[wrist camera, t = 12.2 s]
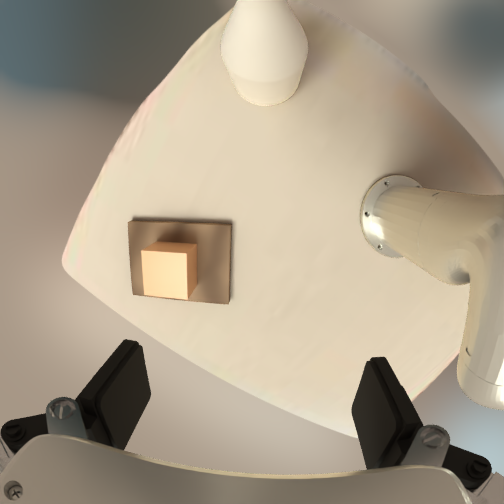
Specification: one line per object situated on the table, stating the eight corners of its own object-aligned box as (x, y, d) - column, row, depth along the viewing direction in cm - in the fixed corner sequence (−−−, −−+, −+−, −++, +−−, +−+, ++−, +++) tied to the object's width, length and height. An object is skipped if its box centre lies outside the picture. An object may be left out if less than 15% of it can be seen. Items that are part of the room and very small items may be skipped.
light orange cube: (196, 243, 41) (186, 253, 36) (197, 285, 43) (187, 299, 38) (156, 241, 42) (141, 250, 36) (158, 281, 43) (144, 294, 38)
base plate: (231, 224, 42) (226, 230, 37) (229, 300, 45) (225, 314, 40) (132, 220, 43) (117, 225, 38) (136, 291, 46) (123, 303, 41)
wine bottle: (274, 120, 38) (282, -1, 9) (220, 87, 37) (137, -43, 8) (311, 73, 36) (368, -69, 7) (257, 42, 35) (236, -110, 6)
